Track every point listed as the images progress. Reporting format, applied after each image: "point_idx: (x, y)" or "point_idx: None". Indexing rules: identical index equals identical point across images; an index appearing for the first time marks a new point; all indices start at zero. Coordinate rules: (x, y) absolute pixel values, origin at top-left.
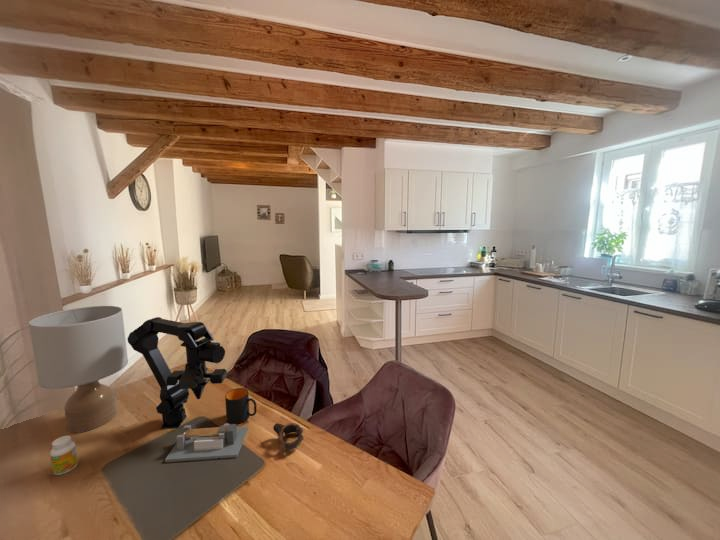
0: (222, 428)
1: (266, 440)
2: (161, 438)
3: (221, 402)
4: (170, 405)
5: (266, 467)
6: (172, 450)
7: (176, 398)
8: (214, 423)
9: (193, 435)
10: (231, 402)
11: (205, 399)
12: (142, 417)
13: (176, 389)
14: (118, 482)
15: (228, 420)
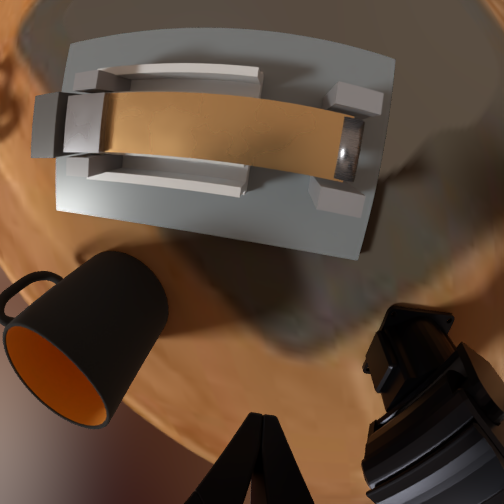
0: (82, 122)
1: (9, 133)
2: (446, 246)
3: (230, 410)
4: (472, 385)
5: (15, 24)
6: (383, 113)
7: (447, 434)
8: (220, 292)
9: (269, 100)
10: (51, 323)
11: (299, 435)
12: None
13: (450, 493)
14: (499, 43)
15: (141, 277)
